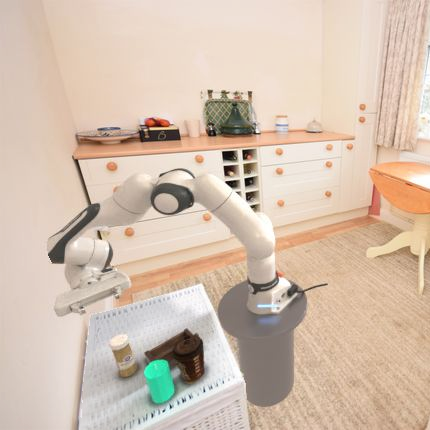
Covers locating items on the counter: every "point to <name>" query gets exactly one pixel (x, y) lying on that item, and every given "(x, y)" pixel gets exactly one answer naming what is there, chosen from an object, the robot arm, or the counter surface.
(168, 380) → the candle
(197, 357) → the coffee cup
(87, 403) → the counter surface
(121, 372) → the sprinkles bottle
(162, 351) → the spice rack
